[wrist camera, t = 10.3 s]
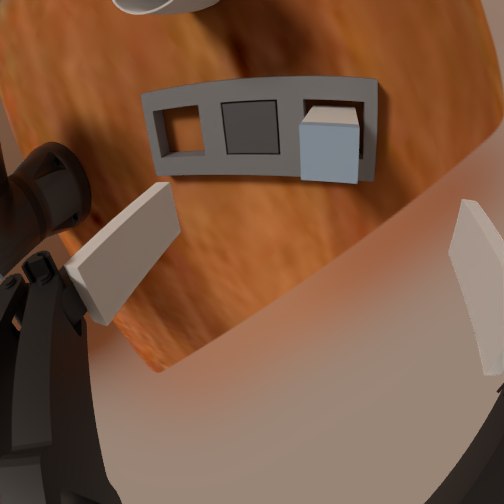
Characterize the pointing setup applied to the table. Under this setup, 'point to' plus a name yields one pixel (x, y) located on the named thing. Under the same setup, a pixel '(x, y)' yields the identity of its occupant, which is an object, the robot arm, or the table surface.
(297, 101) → the panel
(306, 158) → the plug
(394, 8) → the table surface
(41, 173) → the robot arm
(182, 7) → the cup
